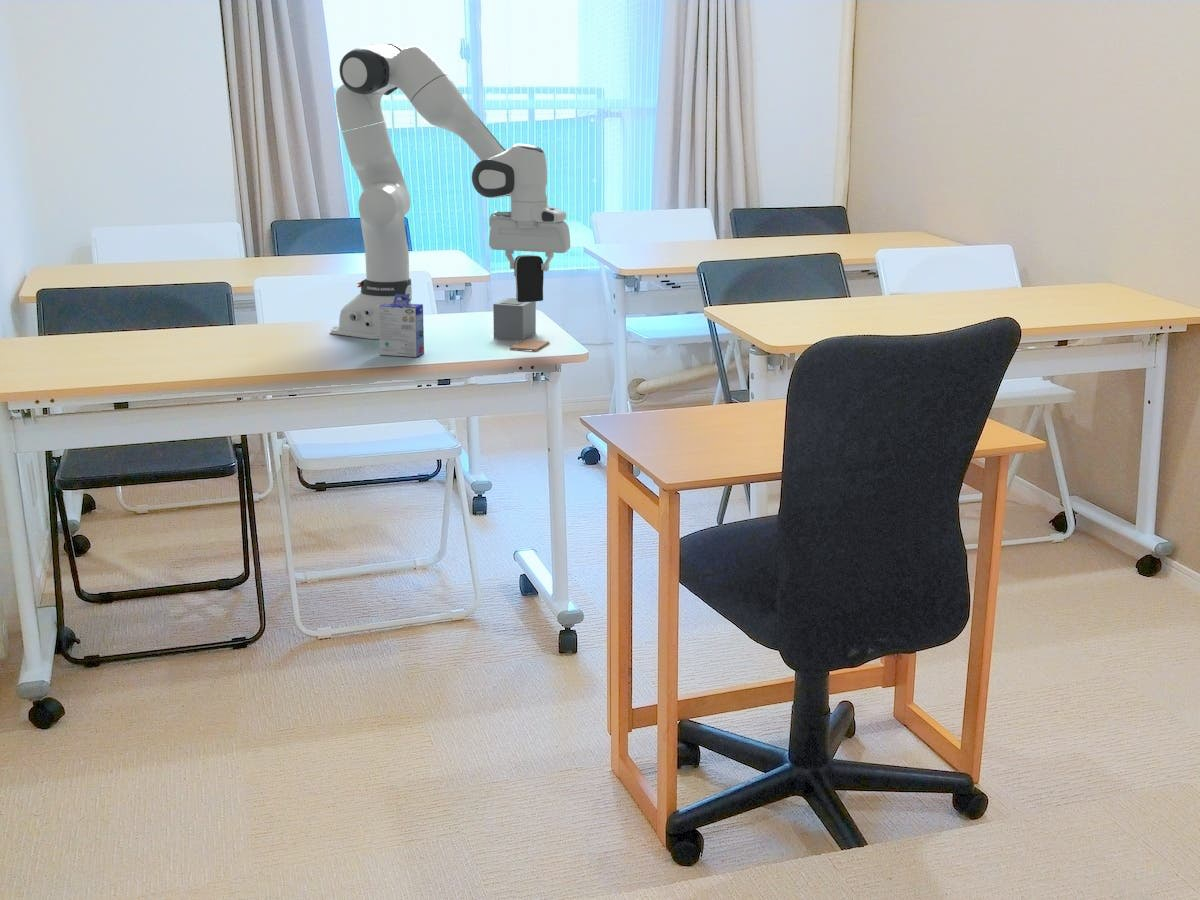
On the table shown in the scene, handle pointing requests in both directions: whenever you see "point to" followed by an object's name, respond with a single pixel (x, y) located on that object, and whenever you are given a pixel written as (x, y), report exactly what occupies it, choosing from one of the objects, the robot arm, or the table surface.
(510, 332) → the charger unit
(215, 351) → the table surface
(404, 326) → the ink cartridge box
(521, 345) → the mat
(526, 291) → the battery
